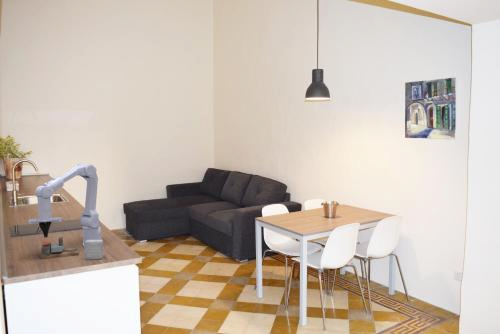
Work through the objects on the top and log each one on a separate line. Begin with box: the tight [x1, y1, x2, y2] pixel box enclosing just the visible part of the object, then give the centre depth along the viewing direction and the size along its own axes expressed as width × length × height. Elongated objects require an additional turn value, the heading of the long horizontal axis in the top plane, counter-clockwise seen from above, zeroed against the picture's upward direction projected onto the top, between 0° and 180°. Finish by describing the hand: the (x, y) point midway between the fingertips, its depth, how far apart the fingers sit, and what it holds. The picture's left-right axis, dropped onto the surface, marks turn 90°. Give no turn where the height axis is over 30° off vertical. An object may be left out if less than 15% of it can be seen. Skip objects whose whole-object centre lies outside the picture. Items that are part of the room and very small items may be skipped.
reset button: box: [41, 240, 51, 246], centre depth 201 cm, size 4×4×1 cm
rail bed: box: [39, 241, 80, 260], centre depth 204 cm, size 17×10×5 cm, turn 111°
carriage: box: [51, 236, 64, 252], centre depth 203 cm, size 5×7×6 cm
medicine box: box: [83, 239, 105, 260], centre depth 198 cm, size 8×4×9 cm, turn 92°
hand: (46, 237), depth 201 cm, fingers closed
